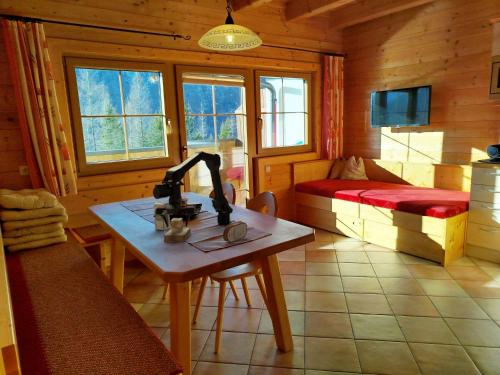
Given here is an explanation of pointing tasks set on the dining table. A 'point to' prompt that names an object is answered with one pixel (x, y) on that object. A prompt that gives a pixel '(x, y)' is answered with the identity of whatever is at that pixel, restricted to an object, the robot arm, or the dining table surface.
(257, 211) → the dining table surface
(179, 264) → the dining table surface
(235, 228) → the tin
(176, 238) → the plinth
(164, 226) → the syrup box
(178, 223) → the block
